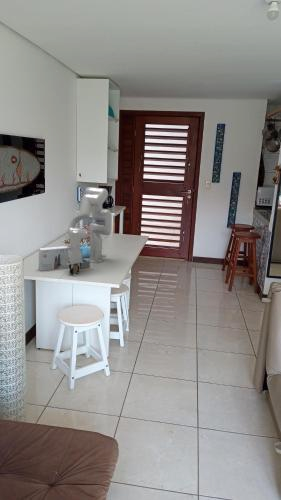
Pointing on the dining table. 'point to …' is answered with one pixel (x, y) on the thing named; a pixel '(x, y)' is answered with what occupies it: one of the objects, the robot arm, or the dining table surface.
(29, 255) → the dining table surface
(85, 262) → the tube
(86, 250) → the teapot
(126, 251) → the dining table surface
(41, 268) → the skincare box
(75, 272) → the peg
